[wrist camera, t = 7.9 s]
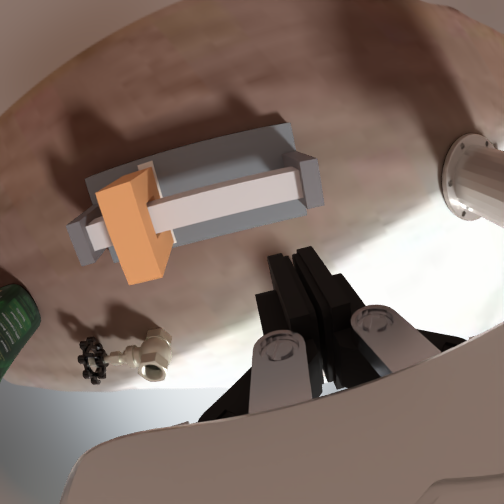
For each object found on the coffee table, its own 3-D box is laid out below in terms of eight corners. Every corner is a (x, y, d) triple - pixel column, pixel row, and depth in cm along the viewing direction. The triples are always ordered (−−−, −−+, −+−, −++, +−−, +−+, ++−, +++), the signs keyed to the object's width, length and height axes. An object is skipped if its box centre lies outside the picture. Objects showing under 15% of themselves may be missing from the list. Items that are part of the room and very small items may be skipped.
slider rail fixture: (287, 122, 30) (310, 122, 23) (303, 211, 34) (328, 237, 27) (89, 176, 30) (54, 193, 22) (117, 257, 34) (94, 294, 26)
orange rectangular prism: (151, 166, 28) (130, 181, 21) (174, 241, 31) (162, 277, 24) (123, 175, 28) (95, 193, 21) (147, 248, 31) (129, 285, 24)
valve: (166, 315, 38) (87, 327, 38) (159, 349, 32) (71, 358, 31) (180, 353, 41) (105, 362, 40) (177, 388, 35) (94, 394, 34)
